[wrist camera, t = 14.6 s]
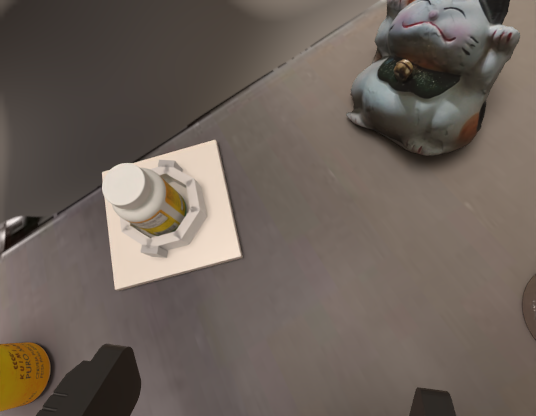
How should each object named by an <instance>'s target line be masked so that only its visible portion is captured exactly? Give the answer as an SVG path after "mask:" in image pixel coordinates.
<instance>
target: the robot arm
mask: <svg viewBox="0 0 536 416" xmlns="http://www.w3.org/2000/svg"><path fill="white" fill-rule="evenodd" d="M522 305H523V315H524V318H525V321H526V324H527V327H528V328H529V330H530V332H531V334H532V336H533V337H534V338H535V339H536V275H534V276H533V277H532V279H531V280H530V281H529V283H528V284H527V287H526V289H525V292H524V295H523V303H522ZM140 390H141V378H140V375H139V371H138V367H137V363H136V360H135V356H134V352H133V349H132V348H131V347H127V346H120V345H113V344H104V345H103V346H102V347H101V348H100V349H99V350H98V352H97V353H96V354H95V356H94V357H93V359H92V360H91V361H82V362H81V363H80V364H79V365H77V366H76V367H75V368H74V369H72V370H71V371H70V372H69V373H67V374H66V376H65V377H64V378H63V380H62V381H61V382H60V384H59V385H58V386H57V388H56V389H55V390H54V393H53V395H51V396H50V397H49V399H48V400H47V401H46V403H45V404H44V405H43V409H42V410H40V411H39V412H38V413H37V415H36V416H130V415H131V413H132V411H133V409H134V407H135V405H136V403H137V401H138V398H139V395H140ZM409 416H456V414H455V411H454V407H453V403H452V399H451V396H450V394H449V393H448V392H447V391H440V390H433V389H426V388H417V389H416V391H415V395H414V399H413V403H412V407H411V411H410V415H409Z"/></svg>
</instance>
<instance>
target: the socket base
mask: <svg viewBox="0 0 536 416" xmlns="http://www.w3.org/2000/svg"><path fill="white" fill-rule="evenodd" d="M132 164H134V165H137V166H138V167H140V168H147V169H150V170H153V171H154V172H156V173H157V174H158V175H160V176H161V177H162V178H163V179H164V180H165V181H166V182H167V183H168V184H169V185H170V186H171V187H173V188H174V189H175V190H176V191H177V192H178V193H179V194H180V195H181V196H182V197H183V198H184V200H185V202H186V204H187V211H188V213H187V215H186V216H185V218H184V219H183V221H182V222H181V224H180V225H179V227H178V228H177V230H176V231H175V232H171V233H168V234H164V235H160V236H155V235H152V234H150V233H148V232H146V231H145V230H143V229H141V228H139V227H137V226H135V225H133V224H131V223H130V222H128V221H126V220H124V219H122V218H121V217H120V216H118V215H117V213H116V212H115V211H114V209H113V207H112V204H111V203H110V202H108V201H107V200H106V198H105V204H106V213H107V222H108V231H109V240H110V249H111V258H112V267H113V276H114V285H115V290H124V289H127V288H131V287H135V286H139V285H142V284H146V283H150V282H154V281H157V280H161V279H165V278H169V277H172V276H176V275H180V274H184V273H187V272H191V271H195V270H199V269H202V268H206V267H210V266H214V265H217V264H221V263H225V262H229V261H232V260H236V259H240V258H243V255H242V251H241V246H240V242H239V237H238V233H237V228H236V224H235V219H234V215H233V210H232V206H231V201H230V197H229V192H228V188H227V183H226V179H225V174H224V169H223V165H222V160H221V156H220V151H219V147H218V143H217V141H216V140H212V141H209V142H205V143H202V144H199V145H195V146H192V147H188V148H185V149H181V150H178V151H174V152H171V153H167V154H164V155H160V156H157V157H153V158H150V159H146V160H143V161H139V162H136V163H132ZM109 171H110V170H108V171H105V172H102V177H103V180H104V178H105V176H106V174H107V173H108V172H109Z"/></svg>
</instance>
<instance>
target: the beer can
mask: <svg viewBox="0 0 536 416" xmlns="http://www.w3.org/2000/svg"><path fill="white" fill-rule="evenodd" d="M50 372H51V365H50V361H49V358H48V356H47V354H46V352H45V351H44V349H43V348H42V347H40V346H39V345H37V344H35V343H29V342H28V343H11V344H0V411H4V410H7V409H11V408H15V407H18V406H22V405H26V404H28V403H30V402H32V401H34V400H35V399H36V398H37V397H38V396H39V395H40V394H41V393H42V392H43V390H44V389H45V387H46V385H47V382H48V380H49V377H50Z"/></svg>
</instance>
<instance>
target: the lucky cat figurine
mask: <svg viewBox="0 0 536 416" xmlns="http://www.w3.org/2000/svg"><path fill="white" fill-rule="evenodd" d="M509 2H510V0H387V16H386V19H385V20H384V21H383V22H382V23H381V25H380V27H379V29H378V34H377V36H376V38H375V43H376V45H377V51H376V55H375V57H374V60H373V62H372V64H371V65H370V66H369V67H367V68H366V69H365V70H363V71H362V72H361V73H360V74H359V75H358V76H357V78H356V79H355V80H354V82H353V85H352V88H351V96H352V98H353V101H354V110H353V111H352V112H350V113H347V114H346V116H347V117H348V118H349V119H350V120H351V121H352V122H354V123H355V124H357V125H359V126H362V127H366V128H368V129H371V130H374V131H376V132H378V133H380V134H382V135H383V136H385V137H387V138H388V139H390V140H391V141H393V142H395V143H396V144H398V145H399V146H401V147H402V148H404V149H405V150H407V151H410V152H413V153H417V154H422V155H425V156H427V155H440V154H443V153H448V152H451V151H454V150H457V149H459V148H462V147H464V146H466V145H467V144H469V143H470V142H471V141H472V140H473V138H474V137H475V135H476V133H477V132H478V131H479V130H480V128H481V123H482V121H483V118H484V114H485V107H486V99H487V97H488V95H489V92H490V89H491V87H492V86H493V84H494V82H495V80H496V79H497V77H498V75H499V73H500V72H501V70H502V68H503V66H504V64H505V63H506V62H507V61H508V60H509V59H510V58H511V56H512V54H513V51H514V49H515V47H516V45H517V44H518V42H519V38H520V33H519V32H518V30H516V29H514V28H513V27H506V26H503V25H502V23H503V21H504V18H505V16H506V15H507V12H508V7H509Z"/></svg>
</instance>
